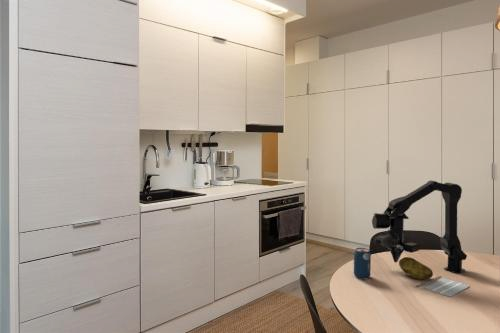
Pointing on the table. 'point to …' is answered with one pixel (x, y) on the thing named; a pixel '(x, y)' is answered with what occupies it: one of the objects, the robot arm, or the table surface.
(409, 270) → the potato
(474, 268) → the table surface
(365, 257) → the soda can
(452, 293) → the mat
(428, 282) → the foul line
